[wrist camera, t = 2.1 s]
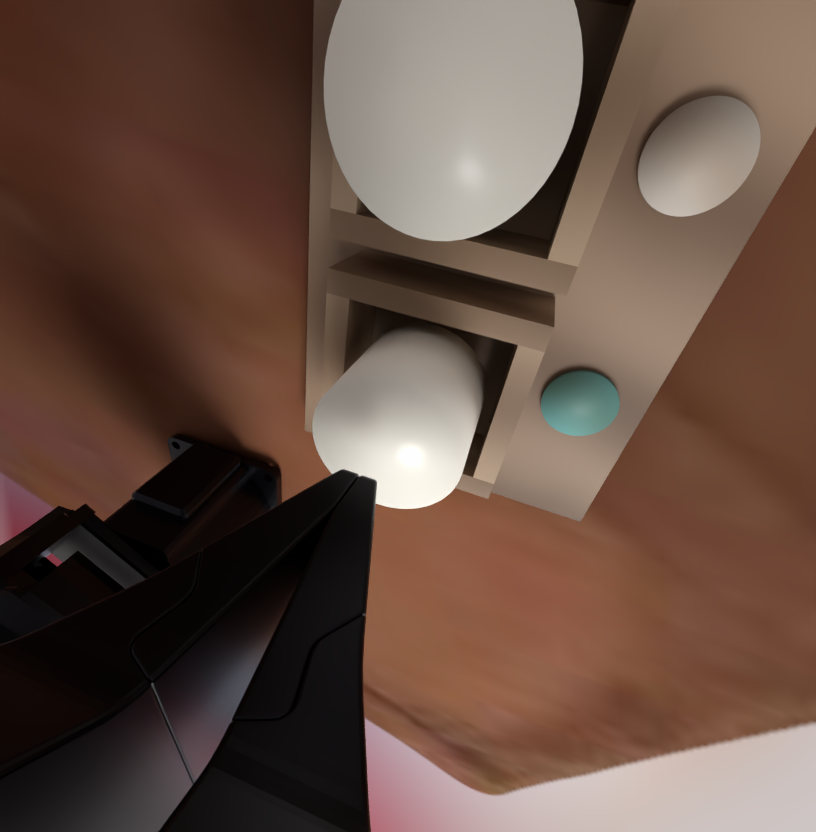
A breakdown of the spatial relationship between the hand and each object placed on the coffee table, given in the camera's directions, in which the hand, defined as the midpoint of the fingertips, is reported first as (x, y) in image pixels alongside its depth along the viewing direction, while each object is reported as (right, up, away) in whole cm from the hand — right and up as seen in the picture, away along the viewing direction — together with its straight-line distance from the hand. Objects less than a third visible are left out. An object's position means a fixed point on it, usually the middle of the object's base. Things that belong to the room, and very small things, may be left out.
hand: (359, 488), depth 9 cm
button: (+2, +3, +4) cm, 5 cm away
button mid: (+3, +8, 0) cm, 9 cm away
